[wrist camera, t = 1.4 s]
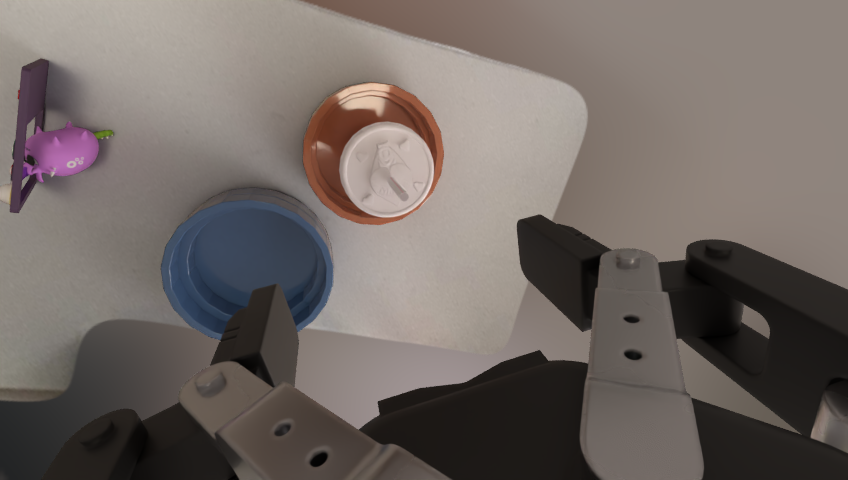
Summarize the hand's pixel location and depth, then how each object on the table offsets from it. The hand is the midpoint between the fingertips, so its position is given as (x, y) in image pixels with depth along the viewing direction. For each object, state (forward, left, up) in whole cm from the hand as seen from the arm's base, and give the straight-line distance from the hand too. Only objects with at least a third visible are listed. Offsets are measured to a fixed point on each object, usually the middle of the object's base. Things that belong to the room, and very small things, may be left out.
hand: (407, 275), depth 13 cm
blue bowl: (-10, -7, -24) cm, 27 cm away
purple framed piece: (-19, +6, -25) cm, 32 cm away
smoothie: (+2, 0, -24) cm, 24 cm away
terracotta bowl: (+2, 0, -24) cm, 24 cm away
